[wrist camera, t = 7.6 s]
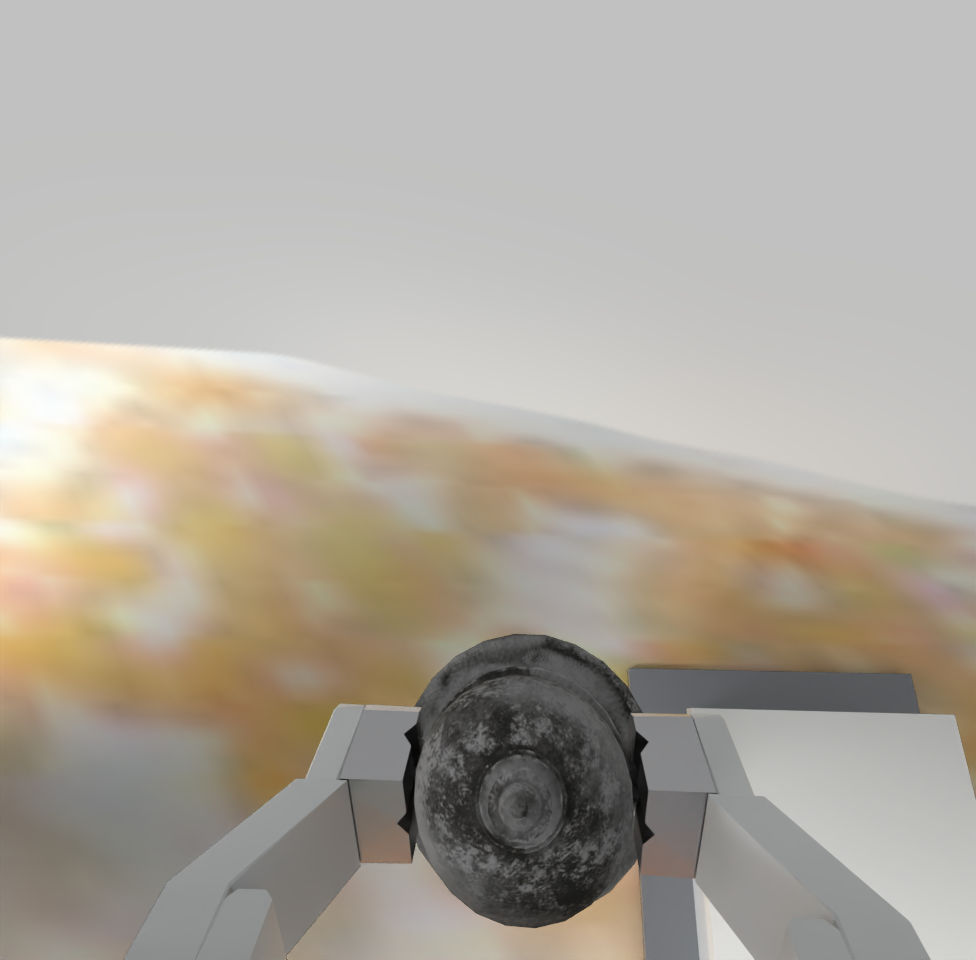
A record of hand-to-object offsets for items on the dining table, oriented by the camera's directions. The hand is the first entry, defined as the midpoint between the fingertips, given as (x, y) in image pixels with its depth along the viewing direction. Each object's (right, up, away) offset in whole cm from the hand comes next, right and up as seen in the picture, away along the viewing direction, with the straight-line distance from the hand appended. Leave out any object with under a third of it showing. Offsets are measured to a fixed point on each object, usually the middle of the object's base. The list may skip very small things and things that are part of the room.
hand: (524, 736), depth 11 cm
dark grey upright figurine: (+1, -3, +7) cm, 7 cm away
